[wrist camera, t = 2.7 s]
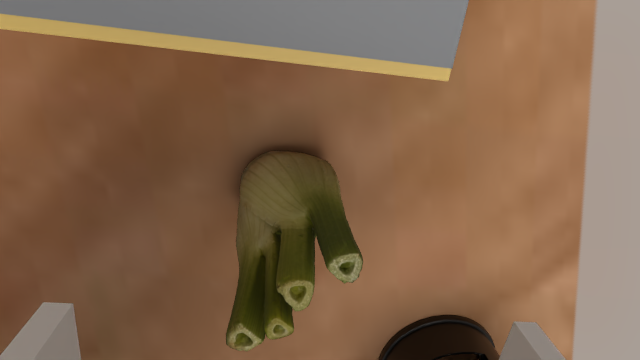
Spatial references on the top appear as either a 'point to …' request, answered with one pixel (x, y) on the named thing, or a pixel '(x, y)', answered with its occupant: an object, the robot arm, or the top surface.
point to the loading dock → (266, 29)
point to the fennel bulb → (286, 243)
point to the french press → (440, 340)
